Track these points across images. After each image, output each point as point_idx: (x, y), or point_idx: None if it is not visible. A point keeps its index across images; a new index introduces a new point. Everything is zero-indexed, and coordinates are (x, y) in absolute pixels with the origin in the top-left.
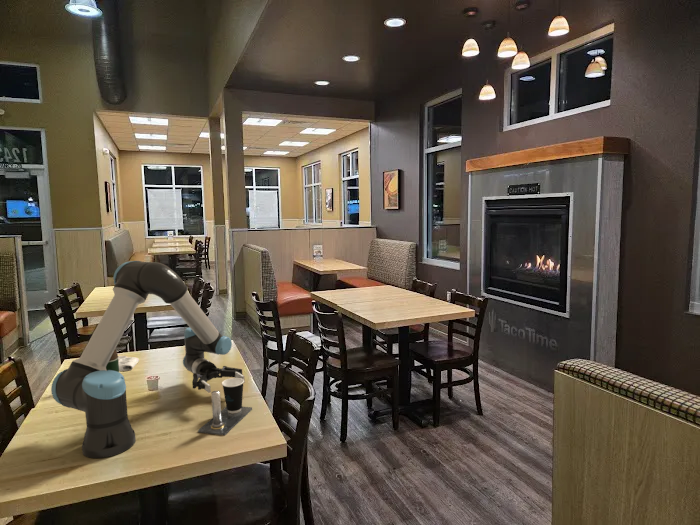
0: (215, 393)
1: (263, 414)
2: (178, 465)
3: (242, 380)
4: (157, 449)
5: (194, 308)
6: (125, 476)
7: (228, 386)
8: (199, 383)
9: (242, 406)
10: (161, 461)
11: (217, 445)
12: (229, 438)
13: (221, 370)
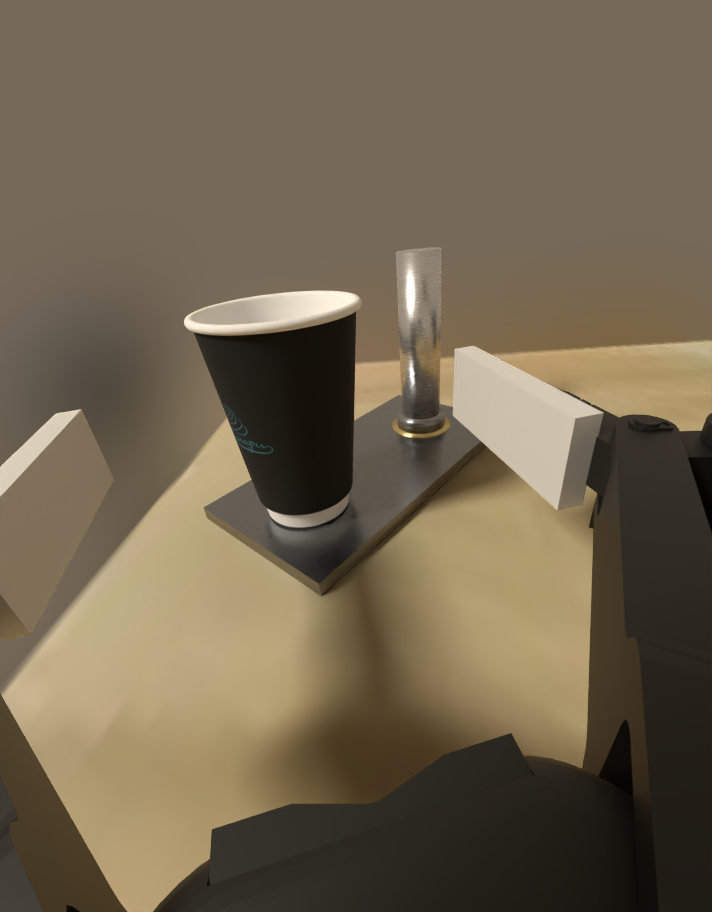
0: (420, 248)
1: (199, 469)
2: (528, 352)
3: (198, 318)
4: (638, 389)
5: None
6: (662, 344)
7: (328, 292)
8: (616, 419)
9: (241, 532)
10: (587, 361)
11: None
12: (387, 393)
13: (16, 839)
